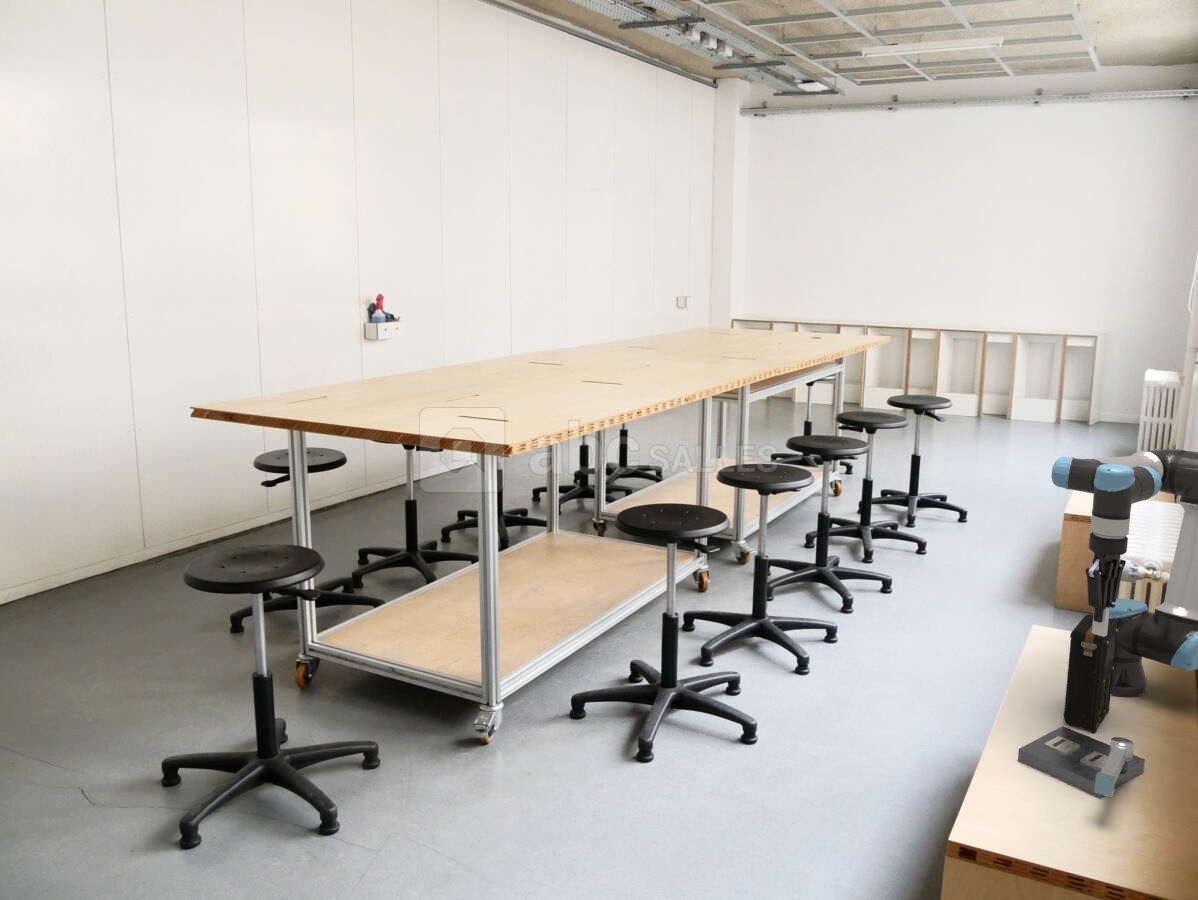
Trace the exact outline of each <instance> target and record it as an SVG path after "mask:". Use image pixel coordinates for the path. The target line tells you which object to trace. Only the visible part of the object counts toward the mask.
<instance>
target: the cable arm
mask: <svg viewBox="0 0 1198 900" xmlns="http://www.w3.org/2000/svg"><path fill="white" fill-rule="evenodd" d="M1134 744H1135V743H1134V742H1133V741H1132V740H1130V738H1126V737H1122V736H1113V737H1111V738H1110V743H1109V745H1110V752H1109V756H1108V758H1107V760H1106V762H1105V764H1104V767H1103V769H1102V771H1101V773H1100V772H1098V773H1097V775H1096V779H1095V789H1094V792H1095V793H1098V794H1102V795H1105V796H1104V797H1109V798H1113V795H1114V794H1115V790H1114V786H1115V783H1116V781H1117V778H1118V776H1119V774H1120V772H1121V769H1122V767H1123V765H1124V763H1125V762H1128V761H1131V760H1132V757H1133V755H1134V749H1135V748H1134V746H1135V745H1134Z"/></svg>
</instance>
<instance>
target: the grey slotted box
mask: <svg viewBox="0 0 1198 900" xmlns="http://www.w3.org/2000/svg"><path fill="white" fill-rule="evenodd" d="M1109 752H1110V744H1107V743H1106V742H1103V741H1100V740H1098V739H1096V738H1093V737H1091V736H1088V735H1086V734H1083V733H1081V732H1078V731H1076V730H1074V729H1071V728H1069V727H1066V726H1064V725H1062V726H1060V727H1057V728H1056V729H1053V730H1052V731H1050V732H1048V733H1046V734H1044V735H1042V736H1040V737H1039V738H1036V739H1035V740H1033V741H1031V742H1029V743H1027V744H1025V745H1023V746H1021V747H1019V748H1018V754H1017V755H1018V756H1017V761H1018V762H1020V763H1022V764H1024V765H1026V766H1028V767H1031V768H1032V769H1035V770H1038V771H1039V772H1041V773H1044V774H1046V775H1048V776H1050V777H1053V778H1055V779H1057V780H1059V781H1061V782H1063V783H1066V784H1069V785H1070V786H1072V787H1074V788H1076V789H1079V790H1082V791H1084V792H1086V793H1088V794H1090V795H1093V796H1094V797H1097V798H1099V799H1102V798H1104V797H1106V796H1105V795H1102V794H1098V793H1095V792H1094V789H1095V779H1096V775H1097V773H1098V772H1100V773H1101V771H1102V769H1103V767H1104V764H1105V762H1106V760H1107V758H1108V756H1109ZM1145 762H1146V760H1145V758H1143V757H1141V756H1137V755H1136V754H1133V757H1132V760H1131V761H1128V762H1125V763H1124V765H1123V767H1122V769H1121V772H1120V774H1119V776H1118V778H1117V781H1116V783H1115V786H1114V791H1115V790H1118V788H1120V787H1122V786H1123V785H1125V784H1127V783H1128V782H1130V781H1132V780H1133V779H1134V778H1136V777H1137V776H1139V775H1141V774H1142V773H1144V771H1145Z"/></svg>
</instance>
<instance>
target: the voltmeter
mask: <svg viewBox="0 0 1198 900" xmlns="http://www.w3.org/2000/svg"><path fill="white" fill-rule="evenodd" d="M1093 615H1094V614H1091V613H1089V614H1086V615H1085V616H1084V617H1082V619H1081V620H1080V621H1079V623H1078V624H1077V625H1075V627H1074V628H1073V629H1072V631H1071V632H1070V634H1069V635H1070V642H1069V643H1070V644H1069V645H1070V646H1069V654H1068V665H1067V666H1068V667H1067V677H1066V686H1065V687H1066V688H1065V697H1064V710H1063V713H1062V714H1063V721H1064V723H1065V724H1066V725H1068V726H1072V727H1076V728H1078V729H1082V730H1087V731H1090V733H1093V734H1094V733H1096V732H1097V731H1098V729H1099V727H1100V726H1101V724H1102V723H1103V721H1104V720H1105V718H1106V716H1107V714H1108V713H1109V711H1110V707H1111V706H1110V705H1111V696H1112V695H1111V686H1112V676H1113V669H1114V667H1113V666H1114V656H1115V646H1116V636H1117V631H1118V629H1117V626H1118V620H1117V619H1116V618H1113V619H1110V618H1109V620H1108V631H1107V635H1106V636H1104V637H1103V636H1099V635H1096V634H1093V633H1092V625H1093Z"/></svg>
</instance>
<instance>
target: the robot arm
mask: <svg viewBox="0 0 1198 900" xmlns="http://www.w3.org/2000/svg"><path fill="white" fill-rule="evenodd" d="M1051 481H1052V483H1053V484H1054V486H1056V487H1058V488H1062V489H1066V490H1072V491H1077V492H1083V493H1087V494H1093V497H1092V498H1093V499H1092V510H1091V516H1090V517H1089V518H1090V531H1091V533H1089V539H1088V549H1089V550H1090V551H1092V552H1093V553H1094V555H1093V558H1092V566H1091V567H1086V568H1085V574H1086V578H1087V579H1086V581H1087V598H1088V599H1087V601H1088V603H1087V604H1088V606H1090V607H1093V614H1092V615H1093V625H1092V633H1093V634H1096V635H1099V636H1103V637H1104V636H1106V635H1107V631H1108V620H1109V618H1110V619H1113V618H1116V619H1117V620H1118V626H1117V629H1118V631H1117V636H1116V646H1115V656H1114V666H1113V667H1114V669H1113V676H1112V686H1111V696H1116V697H1123V698H1124V697H1125V698H1127V697H1129V698H1131V697H1139V696H1141V695H1144V694H1145V693H1147V687H1148V685H1147V684H1148V681H1147V678H1146V674H1145V669H1144V666H1143V662H1142V659H1143V658H1144V659H1148V660H1151V661H1154V662H1158V663H1161V664H1164V665H1167V666H1169V667H1172V668H1173V669H1180V670H1183V671H1187V672H1188V671H1189V672H1191V671H1192V672H1193V671H1196V670H1198V451H1191V450H1185V449H1176V448H1172V449H1171V448H1168V449H1167V448H1166V449H1155V450H1145V451H1144V450H1142V451H1137V452H1134V453H1132V454H1131V455H1126V456H1114V457H1113V456H1111V457H1110V456H1109V457H1098V458H1097V457H1096V458H1075V457H1072V456H1071V457H1069V456H1068V457H1067V456H1061V457H1059V458H1057V459H1056V460H1055V461H1054V463H1053V465H1052V469H1051ZM1159 492H1162V493H1166V494H1171V495H1174V496H1179V497H1180V499H1179V505H1180V506H1181V507H1182V509H1183V510H1184V512H1183V518H1182V521H1181V525H1180V530H1179V533H1178V534H1179V535H1178V539H1177V543H1176V546H1175V551H1174V556H1173V561H1172V565H1171V569H1170V574H1169V578H1168V583H1167V588H1166V591H1165V595H1164V600H1163V602H1162V603H1161V604H1159V605H1157V606H1156V607H1155V609H1154V612H1150V611H1148V610H1149V609H1148V605H1147V604H1146V603H1145V602H1143V601H1141V600H1137V599H1129V598H1117V597H1118V594H1119V589H1120V585H1121V579H1122V576H1123V571H1124V568H1125V566H1126V563H1127V561H1126V560H1124V559H1121V556H1122V555H1125V554H1126V553H1127V550H1128V544H1129V543H1128V542H1129V541H1128V540H1129V538H1128V535H1129V533H1130V523H1131V510H1132V505H1133V504H1135V503H1141V502H1143V501H1147V500H1149V499H1151V498H1152V497H1154V496H1156V495H1157V494H1158V493H1159Z"/></svg>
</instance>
